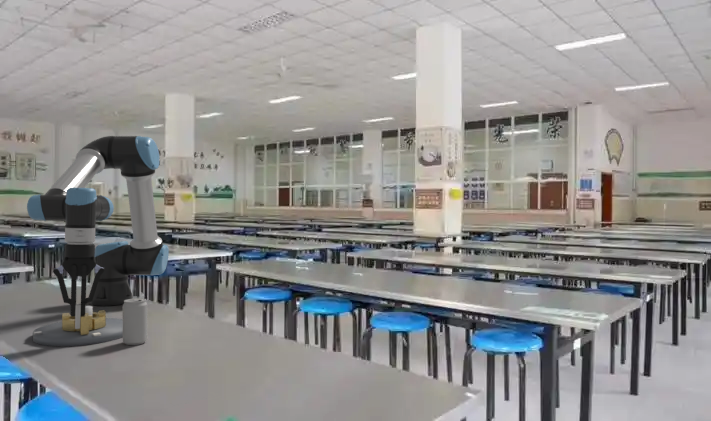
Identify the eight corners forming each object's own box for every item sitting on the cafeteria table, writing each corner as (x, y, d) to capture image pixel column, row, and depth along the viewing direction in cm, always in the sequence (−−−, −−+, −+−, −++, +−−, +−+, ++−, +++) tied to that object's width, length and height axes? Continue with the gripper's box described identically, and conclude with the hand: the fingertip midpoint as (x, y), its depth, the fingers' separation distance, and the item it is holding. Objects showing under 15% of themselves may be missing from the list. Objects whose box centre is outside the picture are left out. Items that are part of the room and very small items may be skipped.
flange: (115, 320, 177) (115, 296, 177) (145, 335, 158) (145, 308, 158) (24, 332, 160) (24, 305, 160) (44, 351, 140) (44, 321, 140)
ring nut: (62, 324, 161) (62, 307, 161) (104, 320, 166) (104, 304, 166) (61, 336, 147) (61, 318, 147) (107, 332, 152) (107, 314, 152)
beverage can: (138, 346, 146) (138, 302, 146) (117, 345, 147) (117, 301, 147) (152, 340, 152) (152, 298, 152) (131, 339, 154) (131, 297, 153)
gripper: (52, 244, 144) (50, 332, 144) (105, 244, 149) (103, 329, 150) (54, 242, 151) (52, 326, 151) (105, 242, 156) (103, 323, 156)
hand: (77, 327), depth 150 cm, fingers closed
